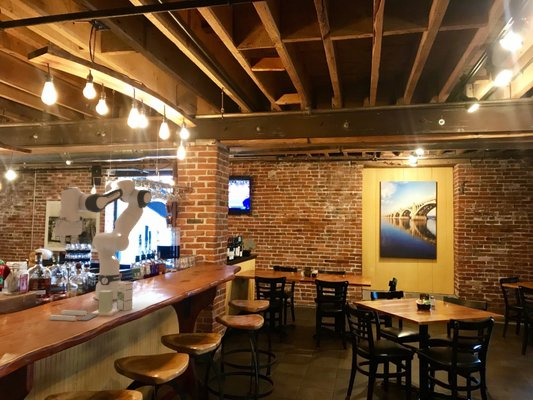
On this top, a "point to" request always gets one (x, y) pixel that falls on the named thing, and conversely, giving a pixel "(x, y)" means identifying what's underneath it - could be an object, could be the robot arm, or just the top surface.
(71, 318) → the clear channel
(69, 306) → the top surface
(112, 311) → the coaster board
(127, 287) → the syrup box
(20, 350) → the top surface
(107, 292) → the sage block
